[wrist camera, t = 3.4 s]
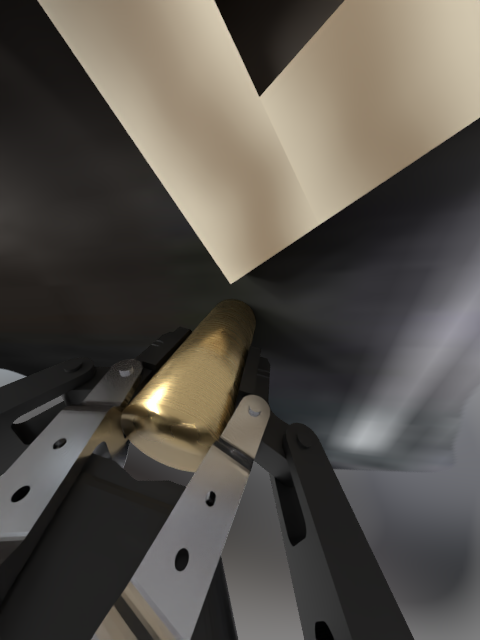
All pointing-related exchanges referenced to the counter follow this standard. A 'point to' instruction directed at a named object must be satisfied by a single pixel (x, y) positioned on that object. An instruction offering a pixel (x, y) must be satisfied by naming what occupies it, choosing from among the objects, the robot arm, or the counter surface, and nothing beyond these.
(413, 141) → the plate
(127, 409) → the brass cylinder
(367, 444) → the counter surface
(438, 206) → the counter surface
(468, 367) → the counter surface
